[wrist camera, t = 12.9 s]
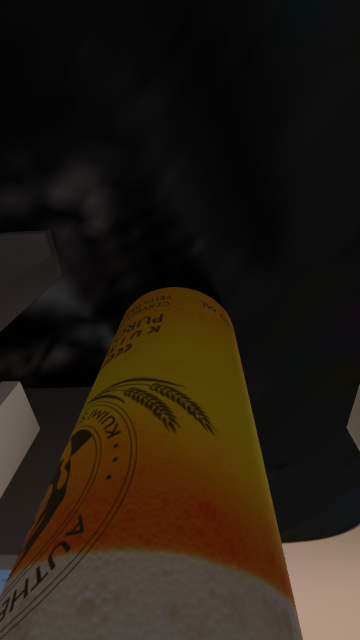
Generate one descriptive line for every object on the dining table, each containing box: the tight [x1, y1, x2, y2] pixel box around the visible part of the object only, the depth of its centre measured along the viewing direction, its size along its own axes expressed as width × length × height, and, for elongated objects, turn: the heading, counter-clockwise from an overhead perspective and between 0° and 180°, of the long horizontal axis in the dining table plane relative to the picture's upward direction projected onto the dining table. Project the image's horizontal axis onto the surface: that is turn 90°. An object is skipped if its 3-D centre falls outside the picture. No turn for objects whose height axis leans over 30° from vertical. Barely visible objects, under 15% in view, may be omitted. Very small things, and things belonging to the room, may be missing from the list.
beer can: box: [0, 287, 303, 640], centre depth 10 cm, size 6×6×15 cm
